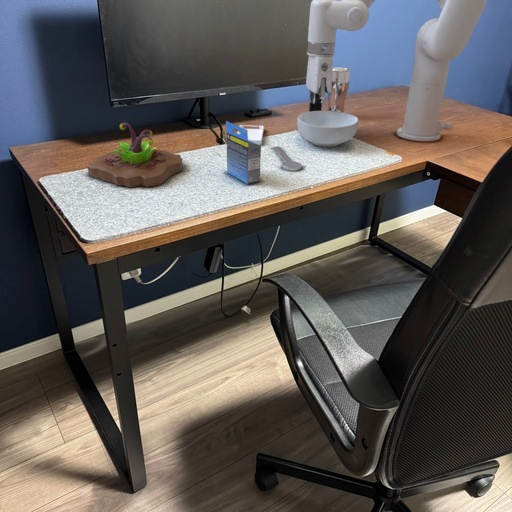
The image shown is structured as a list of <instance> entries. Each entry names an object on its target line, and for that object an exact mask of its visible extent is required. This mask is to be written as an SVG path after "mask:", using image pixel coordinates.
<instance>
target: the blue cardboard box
mask: <svg viewBox="0 0 512 512" xmlns="http://www.w3.org/2000/svg"><path fill="white" fill-rule="evenodd" d="M239 126H240V125H237V124H234V123H232V122H230V121H228V120H226V121H225V131H226V173H227V174H228V175H231V176H233V177H234V178H236V179H238V180H240V181H241V182H244V183H245V184H247V185H249V184H254V183H257V182H260V181H261V162H262V161H261V159H262V158H261V157H262V145H258V144H256V143H254V142H251V141H249V140H248V131H247V129H244V128H245V127H244V128H242V127H239ZM236 130H237V131H239V132H240V134H238V133H237V132H235V131H236Z"/></svg>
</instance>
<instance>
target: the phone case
mask: <svg viewBox="0 0 512 512" xmlns="http://www.w3.org/2000/svg"><path fill="white" fill-rule="evenodd" d="M238 126H239V127H242V128H244V129H247V131H248V140H249V141H251V142H254V143H256V144H258V145H260V146H262V143H263V137H264V131H265V129H264V128H265V126H264V125H255V124H253V125H251V124H249V125H248V124H246V125H245V124H240V125H238ZM245 127H247V128H245ZM248 127H253V128H248ZM254 127H255V128H254ZM256 127H257V128H256ZM236 133H238V134H240V132H239V131H238V130H237V131H236Z"/></svg>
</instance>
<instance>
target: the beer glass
mask: <svg viewBox="0 0 512 512" xmlns="http://www.w3.org/2000/svg"><path fill="white" fill-rule="evenodd" d="M350 81H351V68H348V67H342V66H341V67H340V66H339V67H337V66H336V67H334V66H333V74H332V90H331V93H330V94H328V93H327V102H328V103H327V110H326V111H336V112H343V113H345V104H346V100H347V97H348V93H349V89H350Z"/></svg>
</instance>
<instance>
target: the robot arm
mask: <svg viewBox="0 0 512 512" xmlns="http://www.w3.org/2000/svg"><path fill="white" fill-rule="evenodd" d="M375 1H376V0H311V2H310V6H309V7H310V8H309V19H308V20H309V21H308V31H307V32H308V33H307V43H306V44H307V45H306V55H307V56H308V60H307V67H306V77H305V87H306V89H308V91H309V107H308V112H311V111H322V106H323V101H324V100H325V97H326V94H327V95H328V94H330V93H331V90H332V74H333V68H334V60H333V59H334V58H333V57H334V55H335V50H336V49H335V47H336V38H337V29H338V30H342V31H348V32H356V31H360V30H361V29H363V28H364V27H365V26H366V25H367V23H368V21H369V18H370V17H369V16H370V11H369V9H370V8H371V7H372V5H373V3H374V2H375ZM487 2H488V0H437V4H438V6H439V8H440V9H441V11H440V14H439V17H434V18H431V19H429V20H427V21H425V22H424V23H423V24H422V26H421V27H420V28H419V30H418V32H417V35H416V38H415V46H414V59H413V66H412V74H411V79H410V83H409V90H408V96H407V102H406V108H405V113H404V119H403V125H402V126H401V127H398V128H397V129H396V135H397V136H398V137H400V138H402V139H405V140H409V141H414V142H424V143H425V142H437V141H438V140H440V139H441V136H442V133H441V131H443V130H444V131H445V130H446V131H448V130H449V131H450V130H452V128H453V123H452V122H443V121H440V120H439V119H440V116H441V115H440V114H441V110H442V104H443V99H444V95H445V89H446V85H447V82H448V76H449V70H450V61H453V60H454V59H456V58H457V57H459V56H460V55H461V53H462V52H463V51H464V50H465V48H466V47H467V44H468V43H469V41H470V39H471V37H472V36H473V35H472V34H473V33H474V31H475V29H476V27H477V24H478V22H479V20H480V18H481V16H482V14H483V13H484V10H485V8H486V5H487Z"/></svg>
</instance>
